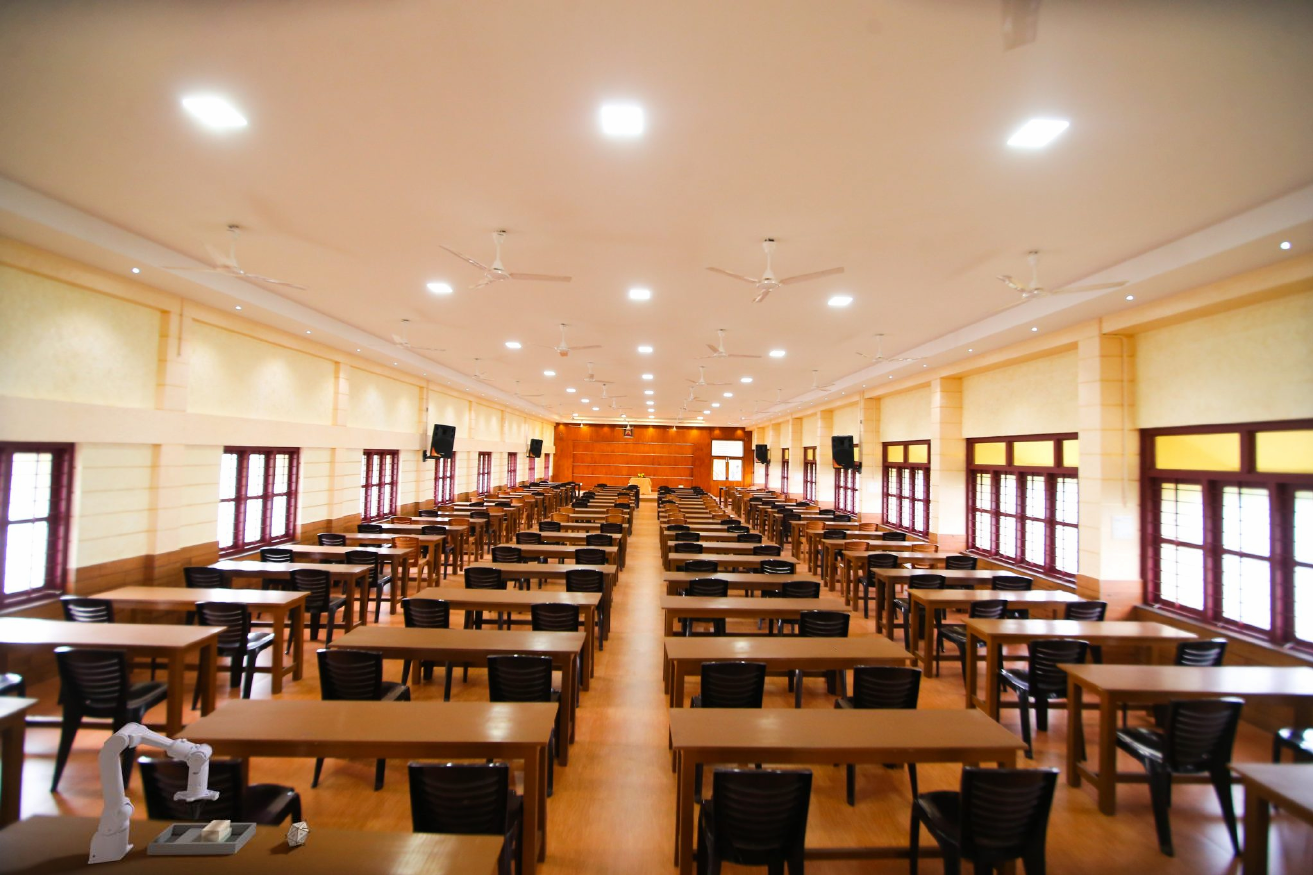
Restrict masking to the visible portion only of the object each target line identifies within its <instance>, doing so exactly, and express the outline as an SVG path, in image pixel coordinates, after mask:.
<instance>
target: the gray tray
mask: <svg viewBox="0 0 1313 875" xmlns="http://www.w3.org/2000/svg"><path fill="white" fill-rule="evenodd" d="M210 823H211V822H210ZM210 823H209V822H208V823H207V822H198V823H197V822H196V823H195V822H193V823H192V822H191V823H190V822H187V823H186V822H185V823H180V822H179V823H178V822H177V823H176V822H175V823H172V824H170V826H168V827H167V828H165V829H164V830H163V831H162V832H160V834H157V836H156V837H155V838H153V839H152V840H151V841H150V842H149V843H148V844H147V848H146V855H147V856H165V855H166V856H170V855H171V856H175V855H176V856H178V855H180V856H181V855H184V856H185V855H192V856H193V855H236V854H237V853H238V851H240V849H241V848H243V846H244V845H245V844H247V842H248V841H249V840H250V839H252V837H253V836H254V835H255V834H256V833H257V832H256V830H257V822H230V830H229V832H228V833H227V834H226V835H225V836H224V837H223V838H222V839H221V840H220V841H219V842H201V837H202V830H203V829H204V828H205V827H206V826H208V825H209V824H210ZM249 826H250V827H249ZM255 827H256V828H255ZM252 835H253V836H252Z"/></svg>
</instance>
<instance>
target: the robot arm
mask: <svg viewBox="0 0 1313 875" xmlns="http://www.w3.org/2000/svg"><path fill="white" fill-rule="evenodd" d="M140 745H145V746H149V747H153V748H156V749H160V750H164V751H166V754H167V756H168V757H172V758H174V759H177V760H180V761H184V762H186V764H187V766H188V767H189V768H188V779H187V780H188V781H187V788H186V790H184V791H177V792H176V793H175V794H173V801H178V800H186V801H185V802H184V807H185V808H186V810H187V811H188V814H189V817H190V821H196V820H197V819H199V816H200V814H201V811H202V808H203V806H204V805H205V803H206V801H207V800H211V801H216V800H217V799H218V798H219V797H220V796H219V795H220V792H219V791H214V790H210V789H207V788H208V778H209V764H210V763H209V762H210V757H211V756H212V754H213V748H212V746H210V745H209V744H208V743H202V744H198V743H197V744H196V743H194V742H191V741H188V739H187V738H178V739H174V740H173V739H171V738H169V737H166V736H164V735H162V734H160V733H157V732H155V731H152V730H150V729H148V727H147V726H145V725H143V724H139V723H137V722H128V723H126V724H125V725H124V726H122V727H121V728H120V729H119V730H118V731H117V732H115V733H114V734H112V735H111V736H109V737H108V738H107V739H106V740H105V741H104V742H103V746H102V747H101V749H100V752H99V754H98V755H97V759H98V761H97V762H98V767H99V774H100V782H101V789H102V790H101V791H102V797H103V806H104V807H103V809H102V812H101V814H100V816H99V817H100V818H99V819H100V822H99V823H98V829H97V831H96V832H95V833H94V835H93V836H92V838H91V841H90V847H89V848H90V849H89V859H88V861H87V864H88V865H89V864H90V865H91V864H97V863H98V864H99V863H106V862H112V861H113V862H114V861H121V859H123V858H124V856H126V855H127V853H128V852H129V851H130V850H131V849H132V848H133V847H134V844H133V843H132V844H129V835H130V834H129V833H130V832H129V831H130V818H131V817H132V816H133V814H134V812H135V807H134V805H133V804H132V803H131V801H130V800H131V799H130V798H129V797H126V796H125V795H126V794H125V788H124V781H123V780H124V779H123V774H122V772H123V771H122V765H121V757H120V754H121V753H122V752H123V750H124V749H126V748H127V747H128V748H129V749H131V748H134V747H138V746H140Z"/></svg>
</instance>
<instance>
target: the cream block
mask: <svg viewBox="0 0 1313 875" xmlns="http://www.w3.org/2000/svg"><path fill="white" fill-rule="evenodd" d="M230 823H231V820H230V819H229V820H228V819H225V820H224V819H223V820H221V819H217V820H215V819H214V820H212V821H211V822H210V824H209V825H208V826H206V827H205V828H204V829H203V830H202V837H201V842H219V841H220V840H221V839H222V838H223V837H224V836H225V835H226V834H227V833H228V832H229V830H230Z"/></svg>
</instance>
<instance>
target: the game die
mask: <svg viewBox="0 0 1313 875" xmlns="http://www.w3.org/2000/svg"><path fill="white" fill-rule="evenodd" d="M307 820H308V819H307V818H306V819H305V820H304V821H301V822H299V821H298V822H296V823H292V822H291V821H290V827H289V829H288V831H287V834H284V839H286V840H287V843H288V845H289V846H288V848H287V849H288V850H289V849H290V848H291V847H294V846H298V845H299V846H300V845H302V844H303V846H306V843H305V842H306V840H307V838H308V835H309V833H311V830H308V829H309V826H308V824H307ZM302 828H308V829H302Z"/></svg>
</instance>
